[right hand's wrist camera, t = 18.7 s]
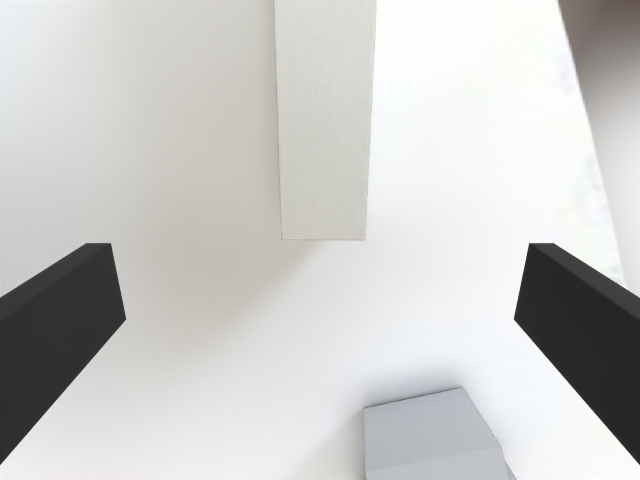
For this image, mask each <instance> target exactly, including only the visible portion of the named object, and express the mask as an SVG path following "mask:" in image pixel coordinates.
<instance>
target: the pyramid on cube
mask: <svg viewBox="0 0 640 480" xmlns="http://www.w3.org/2000/svg"><path fill="white" fill-rule="evenodd" d="M363 423H364V457H365V474H366V478H367V480H517V479H516V477H515V476H514V474H513V473H512V471H511V469H510V468H509V466H508V465H507V463H506V461H505V460H504V456H503V452H502V448H501V445H500V444H499V442H498V441H497V439H496V438H495V436H494V434H493V433H492V431H491V430H490V428H489V427H488V425H487V424H486V422H485V420H484V419H483V417H482V416H481V414H480V413H479V411H478V410H477V408H476V407H475V405H474V403H473V402H472V400H471V399H470V397H469V396H468V394H467V393H466V391H465V390H464V388H458V389H453V390H448V391H444V392H439V393H434V394H430V395H425V396H420V397H415V398H411V399H406V400H401V401H397V402H392V403H387V404H382V405H378V406H373V407H368V408H364V409H363Z"/></svg>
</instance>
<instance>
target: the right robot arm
mask: <svg viewBox="0 0 640 480" xmlns="http://www.w3.org/2000/svg"><path fill="white" fill-rule="evenodd" d="M125 320H126V316H125V311H124V306H123V301H122V296H121V291H120V286H119V281H118V277H117V272H116V267H115V262H114V257H113V252H112V247H111V243H86V244H84V245H83V246H81V247H80V248H78V249H77V250H75V251H73V252H72V253H70V254H69V255H67V256H65V257H64V258H62V259H61V260H59V261H58V262H56V263H54V264H53V265H51V266H50V267H48V268H47V269H45V270H43V271H42V272H40V273H39V274H37V275H36V276H34V277H32V278H31V279H29V280H28V281H26V282H24V283H23V284H21V285H20V286H18V287H17V288H15V289H13V290H12V291H10V292H9V293H7V294H6V295H4V296H2V297H1V298H0V465H1V464H2V462H3V461H4V460H5V459H6V458H7V457H8V455H9V454H10V453H11V452H12V451H13V450H14V448H15V447H16V446H17V445H18V444H19V443H20V442H21V440H22V439H23V438H24V437H25V436H26V435H27V433H28V432H29V431H30V430H31V429H32V428H33V426H34V425H35V424H36V423H37V422H38V421H39V420H40V418H41V417H42V416H43V415H44V414H45V413H46V411H47V410H48V409H49V408H50V407H51V406H52V405H53V403H54V402H55V401H56V400H57V399H58V398H59V396H60V395H61V394H62V393H63V392H64V391H65V389H66V388H67V387H68V386H69V385H70V384H71V383H72V381H73V380H74V379H75V378H76V377H77V376H78V374H79V373H80V372H81V371H82V370H83V369H84V368H85V366H86V365H87V364H88V363H89V362H90V361H91V359H92V358H93V357H94V356H95V355H96V354H97V352H98V351H99V350H100V349H101V348H102V347H103V346H104V344H105V343H106V342H107V341H108V340H109V339H110V337H111V336H112V335H113V334H114V333H115V332H116V331H117V329H118V328H119V327H120V326H121V325H122V324H123V322H124V321H125ZM514 320H515V321H516V322H517V324H518V325H519V326H520V327H521V328H522V329H523V331H524V332H525V333H526V334H527V335H528V336H529V337H530V339H531V340H532V341H533V342H534V343H535V344H536V346H537V347H538V348H539V349H540V350H541V351H542V352H543V354H544V355H545V356H546V357H547V358H548V359H549V361H550V362H551V363H552V364H553V365H554V366H555V368H556V369H557V370H558V371H559V372H560V373H561V374H562V376H563V377H564V378H565V379H566V380H567V381H568V383H569V384H570V385H571V386H572V387H573V388H574V389H575V391H576V392H577V393H578V394H579V395H580V396H581V398H582V399H583V400H584V401H585V402H586V403H587V405H588V406H589V407H590V408H591V409H592V410H593V411H594V413H595V414H596V415H597V416H598V417H599V418H600V420H601V421H602V422H603V423H604V424H605V425H606V426H607V428H608V429H609V430H610V431H611V432H612V433H613V435H614V436H615V437H616V438H617V439H618V440H619V442H620V443H621V444H622V445H623V446H624V447H625V448H626V450H627V451H628V452H629V453H630V454H631V455H632V457H633V458H634V459H635V460H636V461H637V462H638V464H639V465H640V298H639V297H638V296H636V295H634V294H633V293H631V292H630V291H628V290H627V289H625V288H623V287H622V286H620V285H619V284H617V283H616V282H614V281H612V280H611V279H609V278H608V277H606V276H604V275H603V274H601V273H600V272H598V271H597V270H595V269H593V268H592V267H590V266H589V265H587V264H586V263H584V262H582V261H581V260H579V259H578V258H576V257H575V256H573V255H571V254H570V253H568V252H567V251H565V250H563V249H562V248H560V247H559V246H557V245H556V244H554V243H529V247H528V252H527V257H526V262H525V267H524V272H523V277H522V281H521V286H520V291H519V296H518V301H517V306H516V311H515V316H514Z"/></svg>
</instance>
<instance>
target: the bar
mask: <svg viewBox="0 0 640 480" xmlns="http://www.w3.org/2000/svg"><path fill="white" fill-rule="evenodd" d="M376 10H377V0H274V25H275V56H276V87H277V118H278V149H279V179H280V210H281V239H282V240H365V237H366V216H367V196H368V175H369V155H370V134H371V113H372V93H373V72H374V52H375V31H376Z"/></svg>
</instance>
